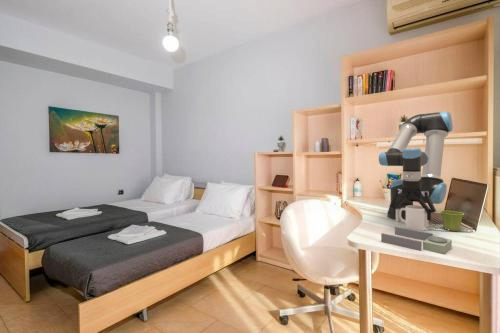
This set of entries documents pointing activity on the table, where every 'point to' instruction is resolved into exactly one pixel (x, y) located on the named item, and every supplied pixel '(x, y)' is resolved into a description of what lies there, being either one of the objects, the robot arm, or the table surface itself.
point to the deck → (429, 244)
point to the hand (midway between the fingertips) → (411, 224)
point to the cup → (414, 217)
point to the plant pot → (452, 220)
